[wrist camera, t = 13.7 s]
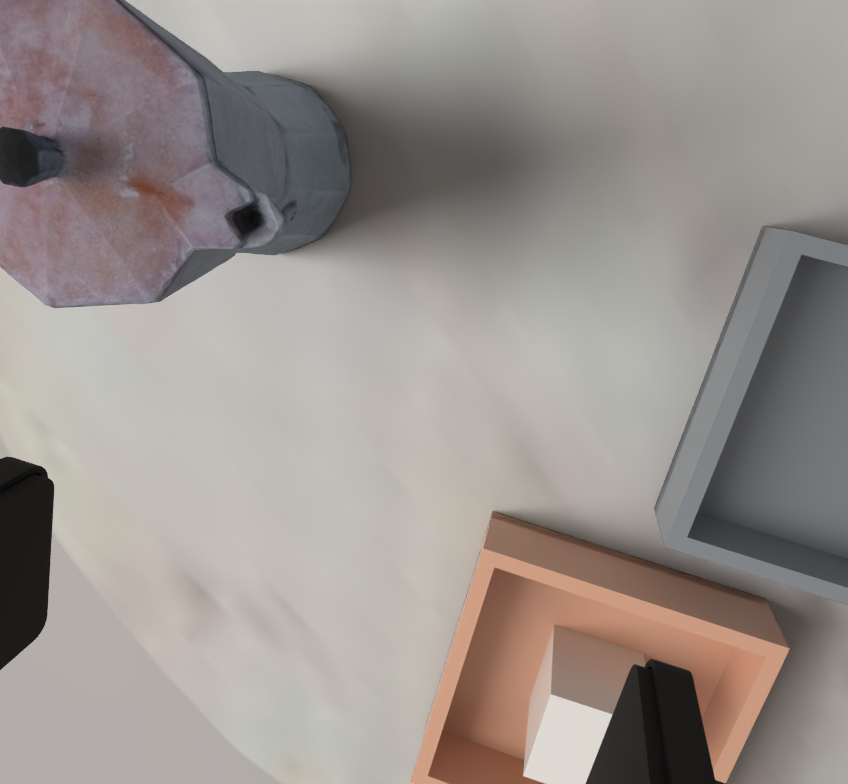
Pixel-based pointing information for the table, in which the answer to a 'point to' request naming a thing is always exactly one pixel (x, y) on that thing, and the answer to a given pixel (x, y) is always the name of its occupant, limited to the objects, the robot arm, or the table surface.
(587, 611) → the bin
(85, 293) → the moka pot
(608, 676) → the stone block
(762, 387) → the bin
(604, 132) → the table surface
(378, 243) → the table surface
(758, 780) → the table surface
